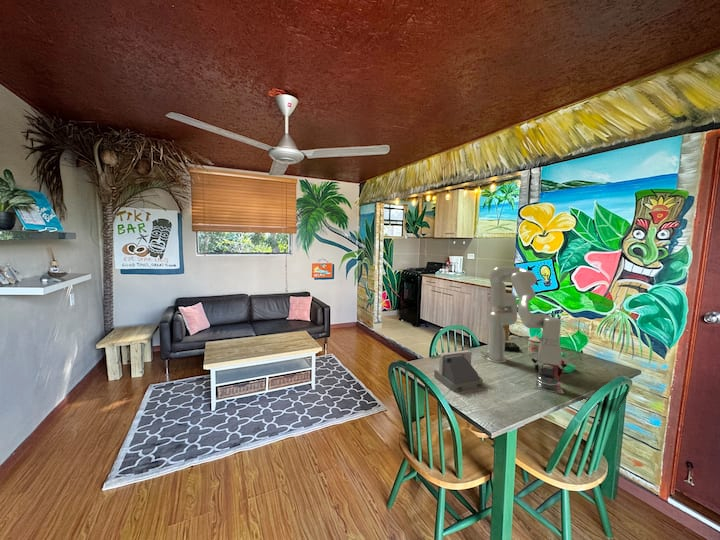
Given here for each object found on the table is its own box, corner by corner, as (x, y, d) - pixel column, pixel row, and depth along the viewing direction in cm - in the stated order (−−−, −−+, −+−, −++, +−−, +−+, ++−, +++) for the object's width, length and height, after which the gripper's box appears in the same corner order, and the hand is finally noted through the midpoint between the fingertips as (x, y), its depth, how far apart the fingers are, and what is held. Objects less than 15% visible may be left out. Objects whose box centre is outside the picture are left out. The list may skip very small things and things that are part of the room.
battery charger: (513, 348, 212) (514, 342, 212) (519, 353, 202) (520, 347, 202) (495, 347, 213) (495, 341, 213) (499, 351, 204) (500, 346, 204)
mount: (564, 374, 169) (565, 357, 168) (550, 369, 176) (551, 352, 175) (575, 370, 175) (577, 354, 174) (562, 366, 181) (563, 349, 180)
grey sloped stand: (465, 372, 170) (467, 346, 168) (487, 389, 149) (489, 361, 148) (431, 374, 166) (432, 348, 164) (448, 392, 145) (450, 363, 144)
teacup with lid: (525, 351, 204) (526, 335, 203) (529, 348, 210) (531, 332, 209) (545, 357, 195) (546, 339, 194) (549, 353, 201) (550, 337, 200)
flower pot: (569, 380, 161) (570, 363, 160) (551, 381, 159) (553, 364, 159) (553, 372, 172) (554, 356, 171) (536, 373, 170) (538, 356, 169)
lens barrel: (533, 388, 152) (534, 376, 151) (531, 379, 162) (531, 368, 161) (563, 394, 146) (564, 381, 146) (559, 384, 156) (560, 372, 156)
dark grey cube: (541, 378, 152) (542, 367, 151) (539, 373, 157) (540, 363, 157) (555, 380, 150) (556, 370, 149) (553, 376, 155) (553, 365, 154)
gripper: (532, 340, 152) (529, 373, 153) (572, 346, 145) (569, 379, 146) (530, 336, 159) (527, 367, 160) (568, 341, 152) (565, 374, 153)
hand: (547, 373), depth 153 cm, fingers open, 9 cm apart
